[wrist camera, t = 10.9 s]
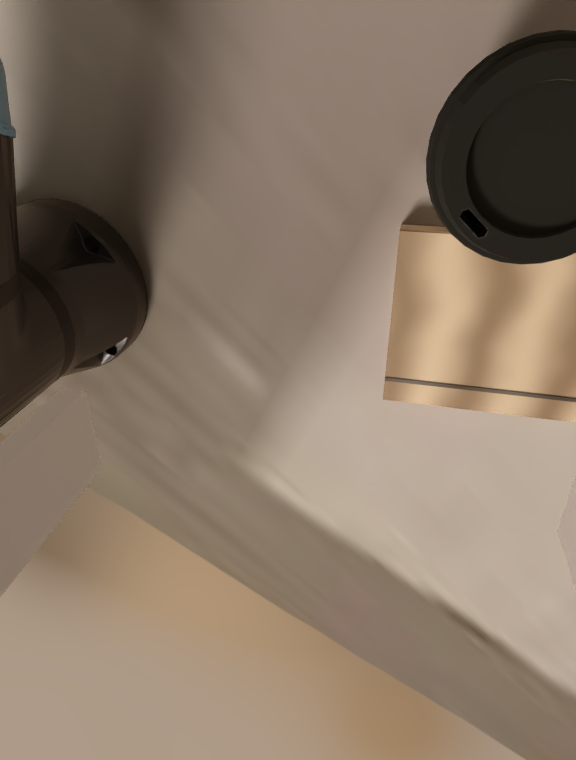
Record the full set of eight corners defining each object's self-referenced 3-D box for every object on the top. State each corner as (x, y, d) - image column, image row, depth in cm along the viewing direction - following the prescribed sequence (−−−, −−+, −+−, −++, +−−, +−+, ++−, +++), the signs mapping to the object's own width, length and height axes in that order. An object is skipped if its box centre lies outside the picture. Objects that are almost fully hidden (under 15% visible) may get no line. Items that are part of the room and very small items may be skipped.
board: (384, 387, 47) (382, 399, 45) (401, 224, 40) (399, 231, 38) (725, 427, 42) (738, 442, 40) (811, 246, 35) (831, 256, 33)
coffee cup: (622, 129, 34) (732, 162, 22) (491, 237, 39) (517, 315, 26) (524, 4, 32) (580, -40, 20) (398, 134, 37) (379, 165, 25)
